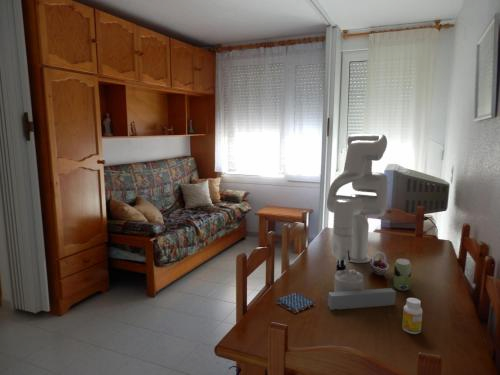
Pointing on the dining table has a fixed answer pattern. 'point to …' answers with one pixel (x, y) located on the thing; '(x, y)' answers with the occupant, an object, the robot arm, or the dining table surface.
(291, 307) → the woven mat
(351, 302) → the grey long bar
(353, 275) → the lumpy-topped squat cylinder
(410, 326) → the supplement bottle
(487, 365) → the dining table surface
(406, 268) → the beverage can
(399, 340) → the dining table surface
